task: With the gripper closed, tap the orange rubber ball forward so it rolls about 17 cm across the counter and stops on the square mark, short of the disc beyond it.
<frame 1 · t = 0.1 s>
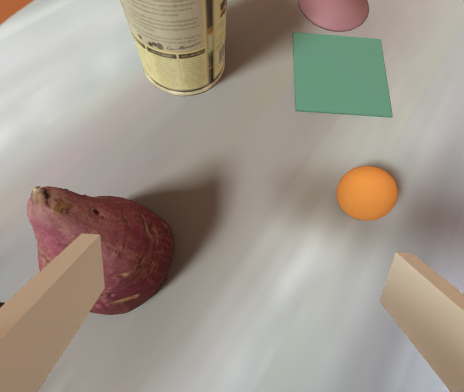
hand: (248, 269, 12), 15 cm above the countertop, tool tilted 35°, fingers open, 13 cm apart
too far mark: (333, 3, 38), on the countertop
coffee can: (184, 63, 34), on the countertop
vegetable: (123, 256, 27), on the countertop
ball: (365, 193, 27), on the countertop
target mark: (340, 73, 34), on the countertop
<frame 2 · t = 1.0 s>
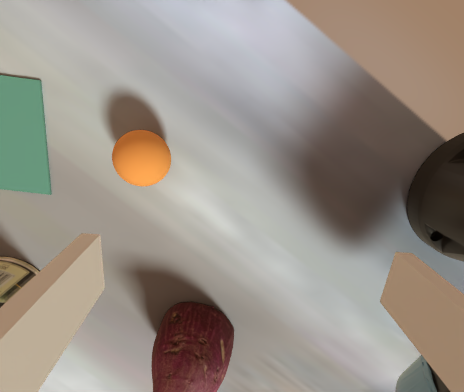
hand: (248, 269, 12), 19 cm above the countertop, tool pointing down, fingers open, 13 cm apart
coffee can: (14, 289, 35), on the countertop
vegetable: (196, 330, 37), on the countertop
ball: (142, 158, 26), on the countertop
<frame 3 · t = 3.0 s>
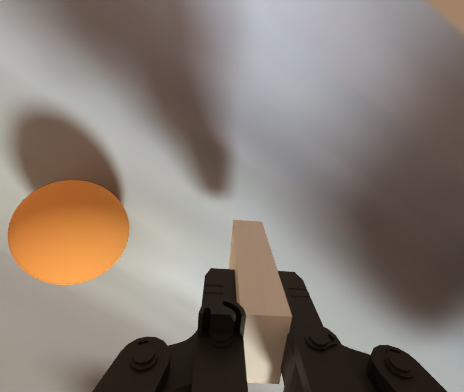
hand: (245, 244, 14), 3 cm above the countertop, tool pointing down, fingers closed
ball: (74, 231, 14), on the countertop
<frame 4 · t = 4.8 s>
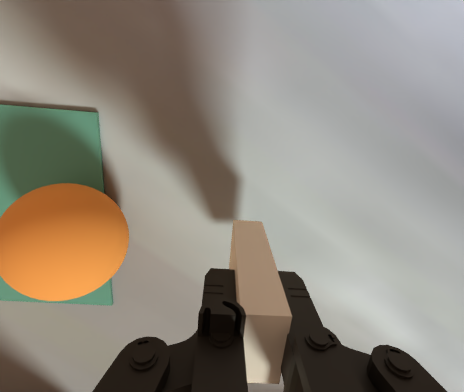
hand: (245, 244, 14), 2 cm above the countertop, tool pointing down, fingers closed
ball: (67, 240, 13), on the countertop
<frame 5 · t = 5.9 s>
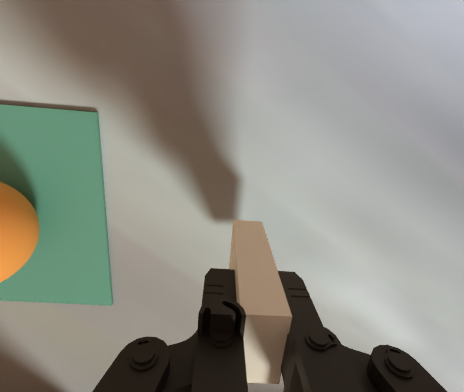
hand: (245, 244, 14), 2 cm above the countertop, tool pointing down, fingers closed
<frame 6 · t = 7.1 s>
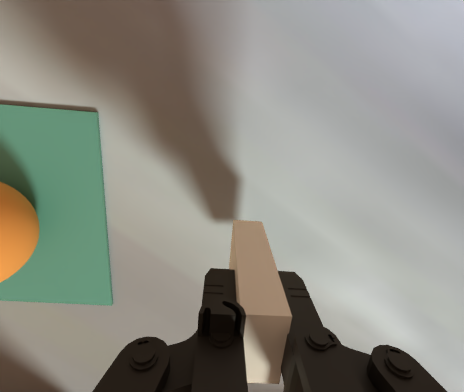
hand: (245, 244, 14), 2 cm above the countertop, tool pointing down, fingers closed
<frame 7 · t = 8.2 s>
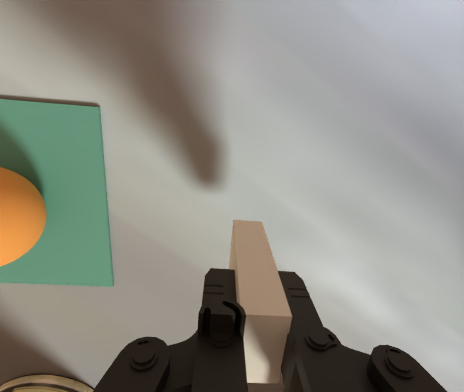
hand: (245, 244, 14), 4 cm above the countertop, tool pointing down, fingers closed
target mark: (7, 200, 17), on the countertop
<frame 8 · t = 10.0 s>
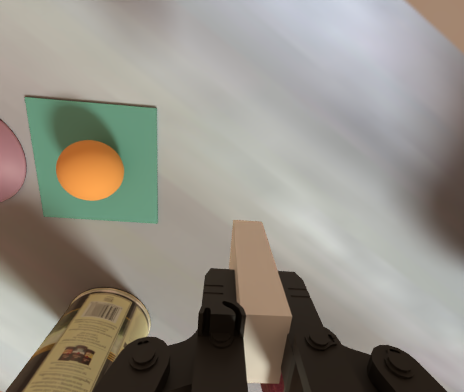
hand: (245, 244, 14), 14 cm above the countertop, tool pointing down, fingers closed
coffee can: (111, 319, 34), on the countertop
ball: (91, 170, 24), on the countertop
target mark: (97, 165, 27), on the countertop
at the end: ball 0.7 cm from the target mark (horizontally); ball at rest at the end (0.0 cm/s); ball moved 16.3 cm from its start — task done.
